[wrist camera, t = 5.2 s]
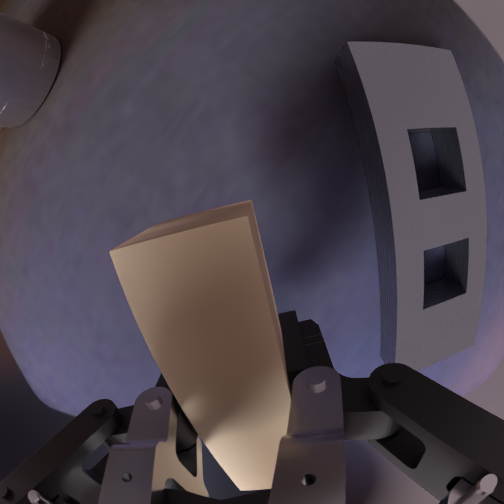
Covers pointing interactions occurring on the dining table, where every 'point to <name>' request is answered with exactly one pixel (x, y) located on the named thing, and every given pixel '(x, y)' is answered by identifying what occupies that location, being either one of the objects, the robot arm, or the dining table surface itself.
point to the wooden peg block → (214, 332)
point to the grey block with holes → (419, 195)
